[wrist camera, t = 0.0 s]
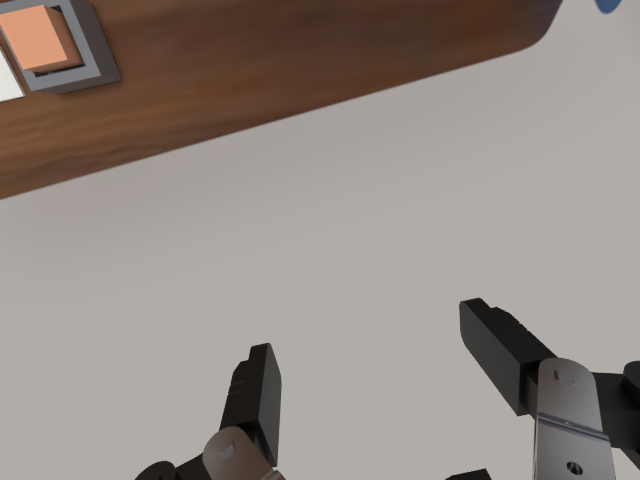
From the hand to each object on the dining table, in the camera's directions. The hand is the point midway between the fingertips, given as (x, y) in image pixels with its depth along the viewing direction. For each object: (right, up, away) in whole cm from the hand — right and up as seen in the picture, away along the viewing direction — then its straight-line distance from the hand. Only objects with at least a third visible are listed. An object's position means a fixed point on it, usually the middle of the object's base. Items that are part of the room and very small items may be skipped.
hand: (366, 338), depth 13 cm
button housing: (-28, +24, +20) cm, 42 cm away
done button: (-28, +23, +17) cm, 40 cm away
